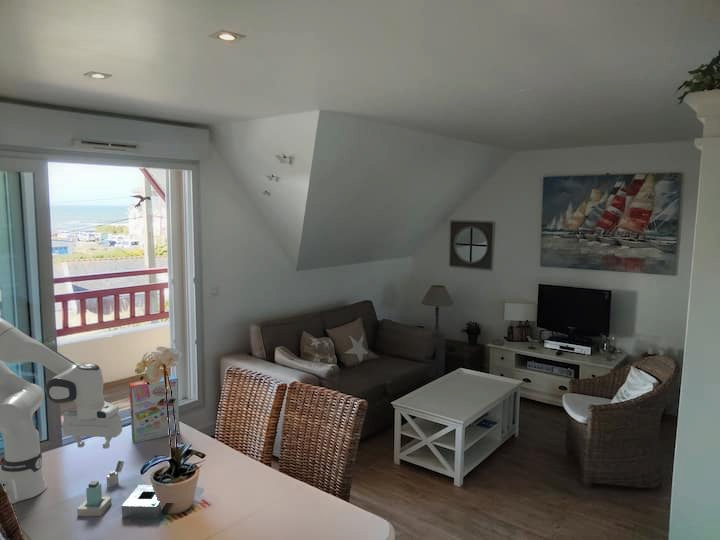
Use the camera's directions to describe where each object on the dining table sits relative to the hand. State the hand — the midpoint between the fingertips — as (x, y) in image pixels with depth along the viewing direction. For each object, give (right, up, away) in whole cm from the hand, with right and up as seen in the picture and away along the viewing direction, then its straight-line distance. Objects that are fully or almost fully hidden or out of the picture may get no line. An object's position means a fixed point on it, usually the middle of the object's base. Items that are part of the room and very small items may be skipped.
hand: (93, 447), depth 185 cm
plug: (0, -23, +2) cm, 23 cm away
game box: (-2, -16, +61) cm, 63 cm away
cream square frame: (0, -23, +2) cm, 23 cm away
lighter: (-1, -21, +19) cm, 29 cm away
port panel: (+18, -23, +3) cm, 29 cm away
